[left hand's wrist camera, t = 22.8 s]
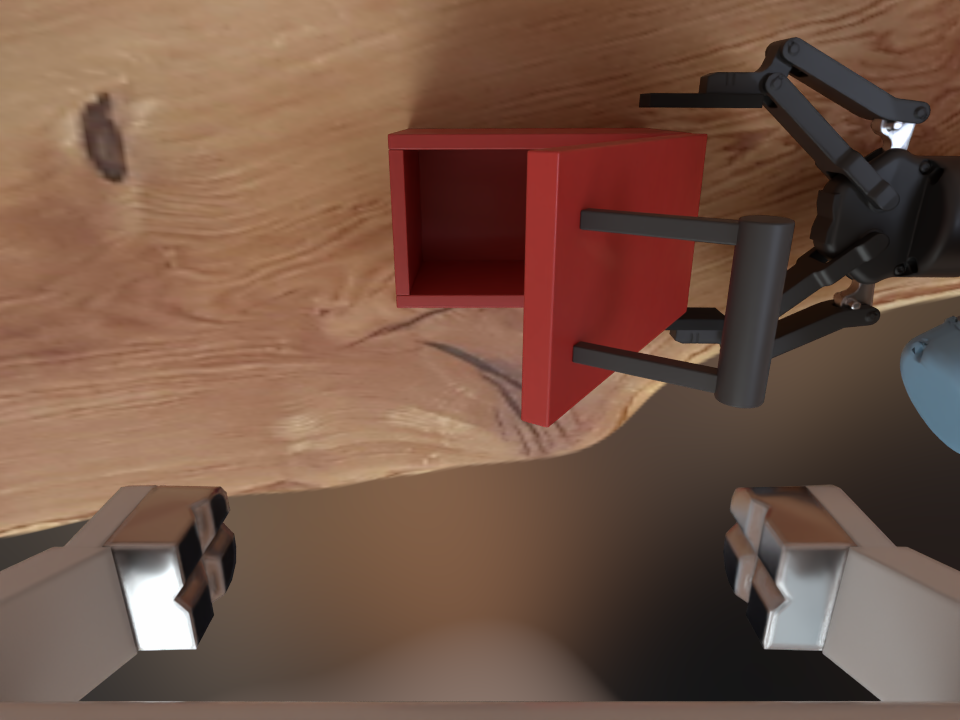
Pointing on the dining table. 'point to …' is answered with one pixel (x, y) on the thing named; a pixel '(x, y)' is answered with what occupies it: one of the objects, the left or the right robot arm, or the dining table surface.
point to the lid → (636, 273)
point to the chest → (469, 210)
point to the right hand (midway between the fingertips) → (633, 215)
